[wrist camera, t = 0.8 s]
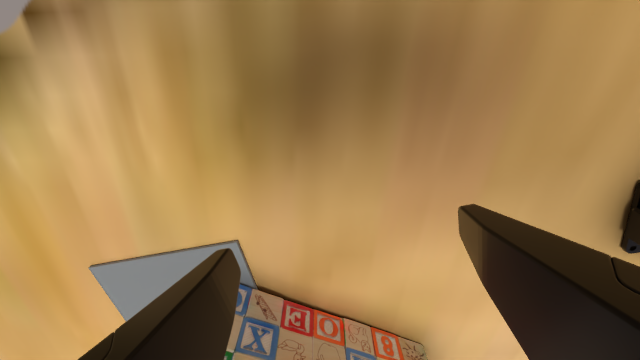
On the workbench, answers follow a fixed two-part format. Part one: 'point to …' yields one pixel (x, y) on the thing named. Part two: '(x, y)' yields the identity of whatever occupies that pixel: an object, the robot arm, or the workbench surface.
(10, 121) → the workbench surface
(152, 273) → the mat
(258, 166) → the workbench surface
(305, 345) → the stack of blocks
